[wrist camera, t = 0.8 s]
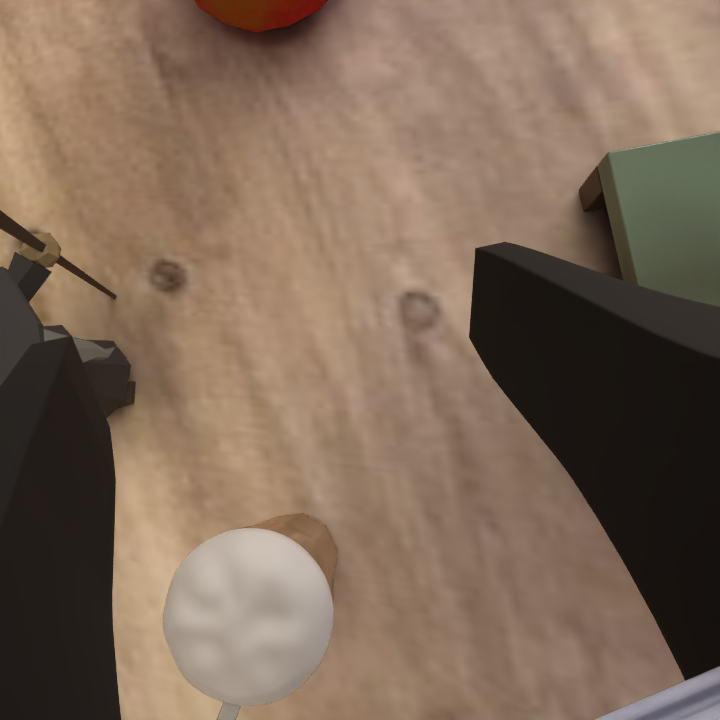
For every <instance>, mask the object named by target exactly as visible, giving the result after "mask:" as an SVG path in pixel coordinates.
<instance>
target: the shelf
mask: <svg viewBox="0 0 720 720" xmlns="http://www.w3.org/2000/svg"><path fill="white" fill-rule="evenodd" d="M579 192H580V196H581V201H582V205H583V210H584V212H586V211H592V210H597V209H603V208H607V211H608V215H609V220H610V224H611V228H612V233H613V237H614V242H615V246H616V251H617V255H618V259H619V264H620V268H621V273H622V277H623V281H626V282H629V283H632V284H635V285H639V286H642V287H645V288H649V289H652V290H656V291H659V292H662V293H666V294H669V295H673V296H677V297H681V298H684V299H688V300H692V301H697V302H701V303H706V304H710V305H715V306H719V307H720V132H714V133H709V134H704V135H698V136H693V137H688V138H682V139H677V140H672V141H666V142H661V143H656V144H650V145H645V146H640V147H634V148H629V149H624V150H618V151H613V152H608V153H607V154H606V155H605V157H604V158H603V159H602V161H601V162H600V163H599V165H598V166H597V167H596V168H595V169H594V170H593V172H592V173H591V174H590V176H589V177H588V178H587V180H586V181H585V182H584V184H583V185H582V186H581V187H580V189H579Z"/></svg>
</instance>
